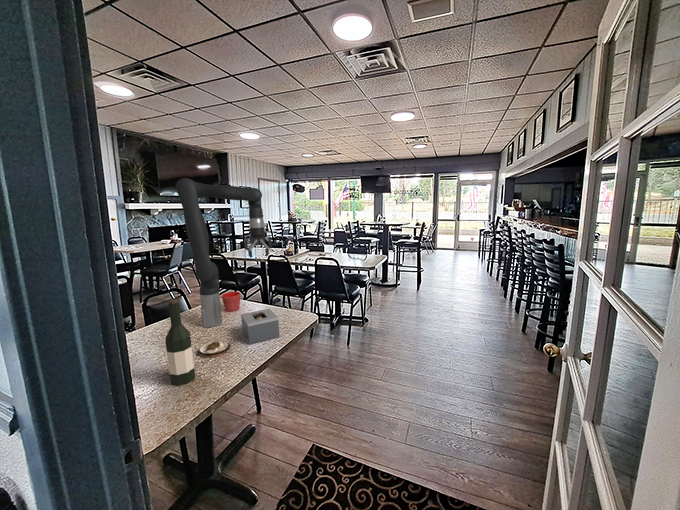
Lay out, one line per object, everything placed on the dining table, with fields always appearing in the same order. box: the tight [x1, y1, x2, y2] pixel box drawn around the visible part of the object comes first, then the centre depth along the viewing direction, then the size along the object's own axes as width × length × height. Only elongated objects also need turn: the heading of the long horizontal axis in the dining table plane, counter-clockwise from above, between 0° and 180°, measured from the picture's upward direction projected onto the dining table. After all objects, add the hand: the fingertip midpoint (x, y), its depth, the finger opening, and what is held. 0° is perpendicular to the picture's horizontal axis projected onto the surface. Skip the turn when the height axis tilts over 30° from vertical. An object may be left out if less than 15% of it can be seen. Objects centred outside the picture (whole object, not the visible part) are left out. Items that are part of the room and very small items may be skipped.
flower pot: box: [221, 291, 241, 313], centre depth 179 cm, size 11×11×10 cm
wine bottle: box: [164, 298, 196, 387], centre depth 107 cm, size 8×8×30 cm
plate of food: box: [198, 339, 232, 359], centre depth 130 cm, size 15×15×4 cm
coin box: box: [240, 308, 280, 346], centre depth 143 cm, size 14×14×10 cm
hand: (259, 256), depth 163 cm, fingers open, 8 cm apart
